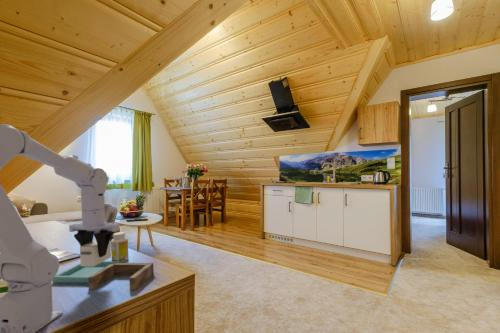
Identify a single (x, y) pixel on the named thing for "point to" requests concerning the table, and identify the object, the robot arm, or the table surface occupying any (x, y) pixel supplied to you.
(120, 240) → the supplement bottle
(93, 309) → the table surface
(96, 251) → the cream rectangular block
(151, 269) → the bay
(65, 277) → the tray
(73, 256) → the table surface
